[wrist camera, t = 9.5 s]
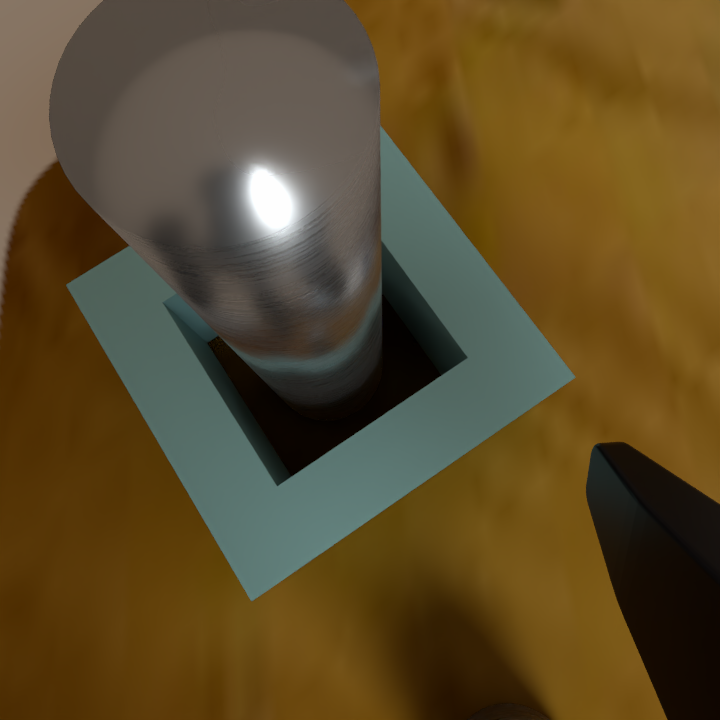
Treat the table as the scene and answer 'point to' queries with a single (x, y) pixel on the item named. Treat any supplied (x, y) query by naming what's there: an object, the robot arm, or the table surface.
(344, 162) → the tall pin
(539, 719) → the short pin
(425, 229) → the hole block
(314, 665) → the table surface
